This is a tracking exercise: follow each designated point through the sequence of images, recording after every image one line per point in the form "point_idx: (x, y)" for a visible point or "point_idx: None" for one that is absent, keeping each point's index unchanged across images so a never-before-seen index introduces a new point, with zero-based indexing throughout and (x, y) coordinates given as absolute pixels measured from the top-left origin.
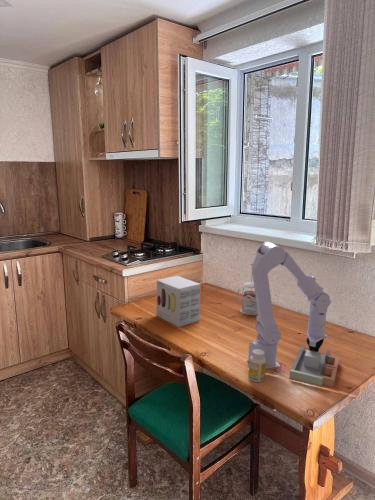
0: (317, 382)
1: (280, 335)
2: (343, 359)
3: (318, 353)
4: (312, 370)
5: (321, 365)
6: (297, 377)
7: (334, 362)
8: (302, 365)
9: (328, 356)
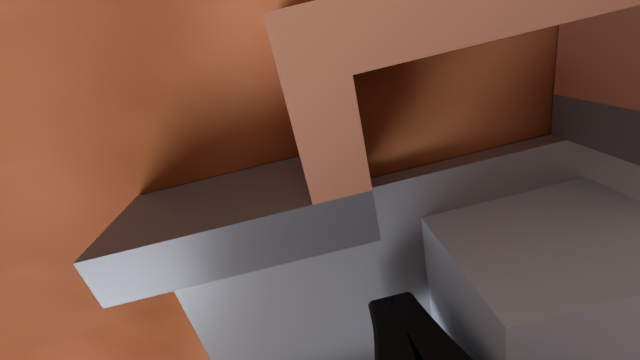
0: None
1: None
2: (3, 19)
3: (553, 345)
4: None
5: (472, 185)
6: None
7: (565, 18)
8: None
9: (370, 197)
